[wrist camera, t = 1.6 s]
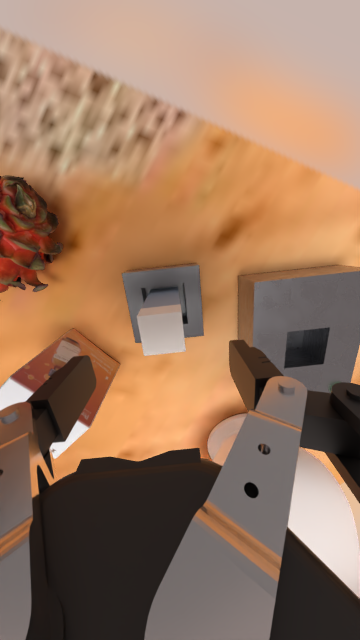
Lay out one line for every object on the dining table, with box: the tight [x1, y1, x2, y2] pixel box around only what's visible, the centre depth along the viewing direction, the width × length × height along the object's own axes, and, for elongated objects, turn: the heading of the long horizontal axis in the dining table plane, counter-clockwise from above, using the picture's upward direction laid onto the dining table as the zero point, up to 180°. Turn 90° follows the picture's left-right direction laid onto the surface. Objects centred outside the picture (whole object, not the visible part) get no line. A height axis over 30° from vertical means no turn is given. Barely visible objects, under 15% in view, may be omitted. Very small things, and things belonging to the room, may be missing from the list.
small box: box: [0, 329, 120, 458], centre depth 22 cm, size 8×6×10 cm
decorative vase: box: [207, 413, 360, 598], centre depth 21 cm, size 18×18×25 cm
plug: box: [137, 286, 186, 356], centre depth 19 cm, size 3×3×10 cm
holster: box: [122, 263, 204, 343], centre depth 23 cm, size 8×8×3 cm
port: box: [238, 265, 360, 393], centre depth 24 cm, size 16×12×6 cm
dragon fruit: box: [0, 176, 63, 301], centre depth 18 cm, size 8×8×12 cm
